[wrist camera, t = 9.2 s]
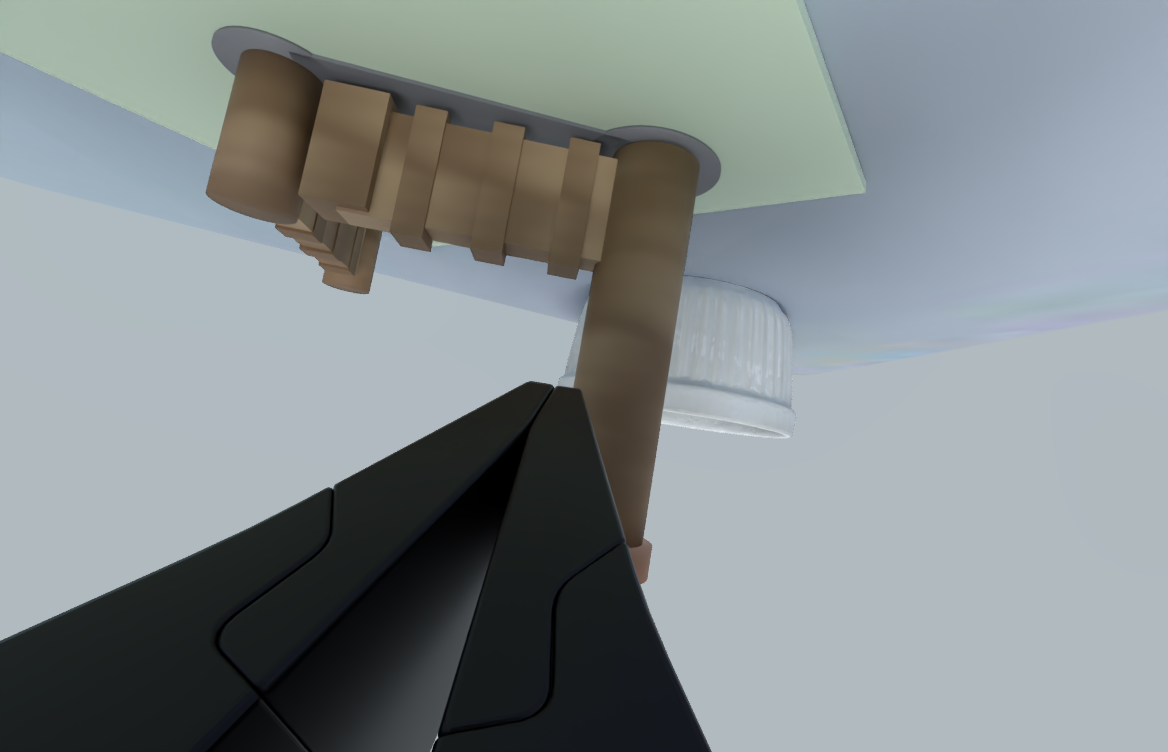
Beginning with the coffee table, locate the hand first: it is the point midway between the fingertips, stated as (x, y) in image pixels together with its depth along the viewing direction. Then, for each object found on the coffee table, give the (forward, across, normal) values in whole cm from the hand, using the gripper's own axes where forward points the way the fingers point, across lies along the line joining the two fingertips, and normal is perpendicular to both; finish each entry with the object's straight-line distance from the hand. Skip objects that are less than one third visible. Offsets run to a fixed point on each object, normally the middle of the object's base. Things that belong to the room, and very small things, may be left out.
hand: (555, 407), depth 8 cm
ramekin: (+21, +3, -10) cm, 24 cm away
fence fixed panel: (+11, -10, 0) cm, 15 cm away
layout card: (+8, -7, +4) cm, 11 cm away
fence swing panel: (+9, -3, +1) cm, 9 cm away
